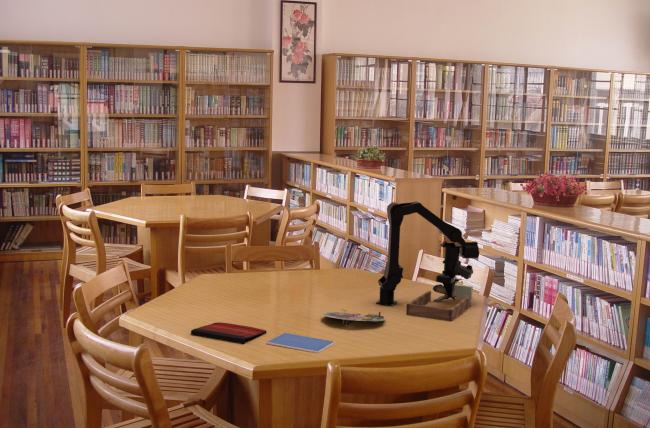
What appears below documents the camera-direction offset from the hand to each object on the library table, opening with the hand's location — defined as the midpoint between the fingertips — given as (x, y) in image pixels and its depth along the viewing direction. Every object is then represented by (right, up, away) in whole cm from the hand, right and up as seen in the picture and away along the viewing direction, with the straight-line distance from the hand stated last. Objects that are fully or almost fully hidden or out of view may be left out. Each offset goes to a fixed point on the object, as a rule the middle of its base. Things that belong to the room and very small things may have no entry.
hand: (449, 296), depth 311 cm
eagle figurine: (-1, -2, +3) cm, 4 cm away
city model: (-39, -6, -29) cm, 49 cm away
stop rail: (+6, -1, +11) cm, 12 cm away
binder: (-82, -8, -48) cm, 95 cm away
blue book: (-57, -10, -58) cm, 82 cm away
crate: (-6, -4, -12) cm, 13 cm away
